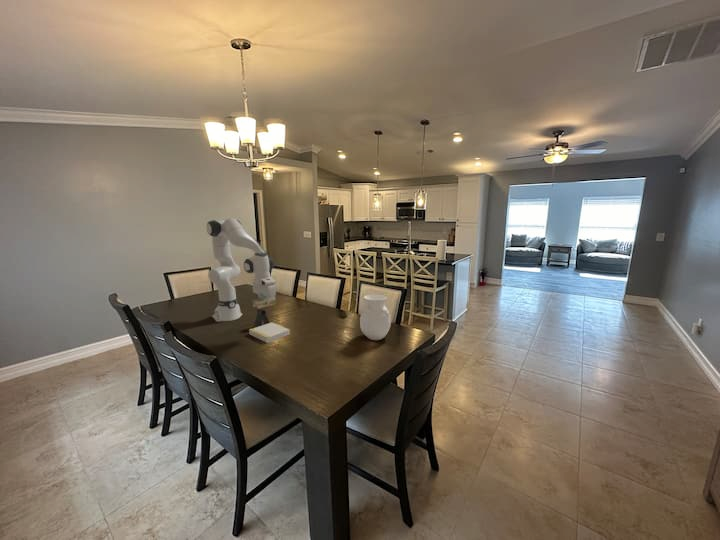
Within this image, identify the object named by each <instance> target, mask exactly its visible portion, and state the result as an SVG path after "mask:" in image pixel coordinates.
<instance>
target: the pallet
mask: <svg viewBox="0 0 720 540" xmlns="http://www.w3.org/2000/svg"><path fill="white" fill-rule="evenodd" d="M266 300H267V299H266ZM266 300H261V299H259V298H256V299H253V300H252V307H253V308H256V309H257V310H258V309H262V308H265V307H269V306H273V305H276V304H277V297H276V296H275V297H272V298H271V299H270V303H269V304H267V303H266Z"/></svg>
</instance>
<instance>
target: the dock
mask: <svg viewBox="0 0 720 540" xmlns="http://www.w3.org/2000/svg"><path fill="white" fill-rule="evenodd" d="M261 325H262V324H261ZM248 331H249V332H248V333H249V335H250V336H252V337H254V338H256V339H258V340H261V341H262V342H265V343H267V344H269V343H271V342H273V341H277V340H279V339H282V338H284V337H286V336H287V337H288V336H290V335H291V330H290V329H289V328H286V327H284V326H281V325H279V324H277V323H275V322H270V323H268V324H265V325H262V326H259V327H256V328H255V327H254V328H249V329H248Z"/></svg>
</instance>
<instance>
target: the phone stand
mask: <svg viewBox="0 0 720 540" xmlns="http://www.w3.org/2000/svg"><path fill="white" fill-rule="evenodd" d="M256 312H257V313H256V318H255V322H254V325H253V326H254V328H256V327H259V326H262V325H265V324H268V323H271V322H270V321H269V319H268V316H267V314H266V313H267V312H266V310H264V309H262V308H259V309H258V308H257V310H256ZM262 323H263V324H262Z"/></svg>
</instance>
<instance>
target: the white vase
mask: <svg viewBox="0 0 720 540" xmlns="http://www.w3.org/2000/svg"><path fill="white" fill-rule="evenodd" d="M363 301H364V302H365V303H364V305H363V310H362V311H361V313H360V318H359V323H360V324H359V325H360V326H359V327H360V330H361V332H362V333H363V335H364V336H366V337H367V338H368V339H369V340H372V341H379V340H382V339H384V338H385V337H386V336H387V334H388V332H389V331H390V329H391V325H392V318H391V315H390V311H389V308H388V307H386V303H387V296H386V295H384V294H378V293H371V294H365V295H364V296H363Z"/></svg>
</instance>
